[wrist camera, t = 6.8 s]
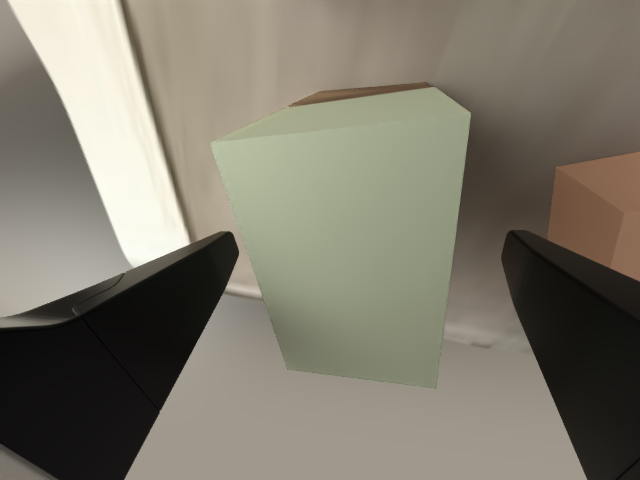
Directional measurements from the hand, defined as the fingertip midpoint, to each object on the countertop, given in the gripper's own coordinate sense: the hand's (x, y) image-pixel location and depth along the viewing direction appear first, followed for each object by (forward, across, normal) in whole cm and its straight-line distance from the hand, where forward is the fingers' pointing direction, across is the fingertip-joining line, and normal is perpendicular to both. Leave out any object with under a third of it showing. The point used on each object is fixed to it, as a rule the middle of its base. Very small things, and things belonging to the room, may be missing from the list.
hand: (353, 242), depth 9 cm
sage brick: (+3, 0, 0) cm, 3 cm away
